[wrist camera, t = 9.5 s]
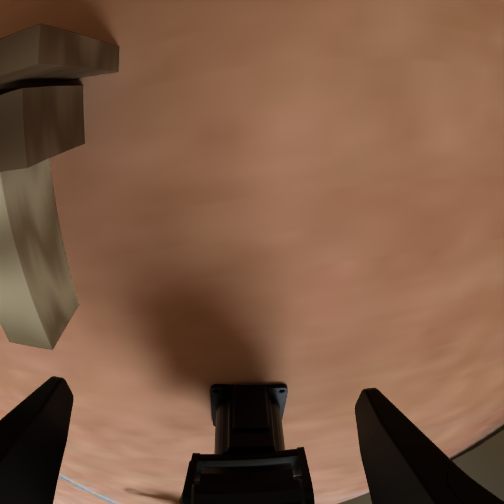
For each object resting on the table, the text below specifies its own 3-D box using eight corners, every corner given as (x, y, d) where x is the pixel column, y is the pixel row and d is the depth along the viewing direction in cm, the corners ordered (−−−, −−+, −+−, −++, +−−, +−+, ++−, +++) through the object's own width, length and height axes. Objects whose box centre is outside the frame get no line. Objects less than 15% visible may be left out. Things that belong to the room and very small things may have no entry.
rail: (79, 304, 21) (52, 349, 17) (38, 301, 21) (9, 341, 17) (45, 93, 14) (-6, 99, 10) (0, 105, 14) (-51, 117, 10)
